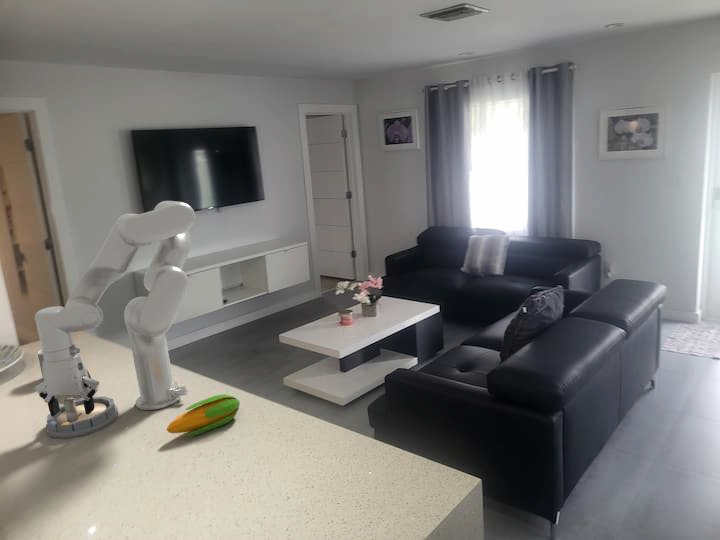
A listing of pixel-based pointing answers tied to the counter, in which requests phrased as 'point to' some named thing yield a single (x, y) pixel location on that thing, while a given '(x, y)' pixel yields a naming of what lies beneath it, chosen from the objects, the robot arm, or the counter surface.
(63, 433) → the dial housing
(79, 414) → the dial
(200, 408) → the corn
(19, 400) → the counter surface
